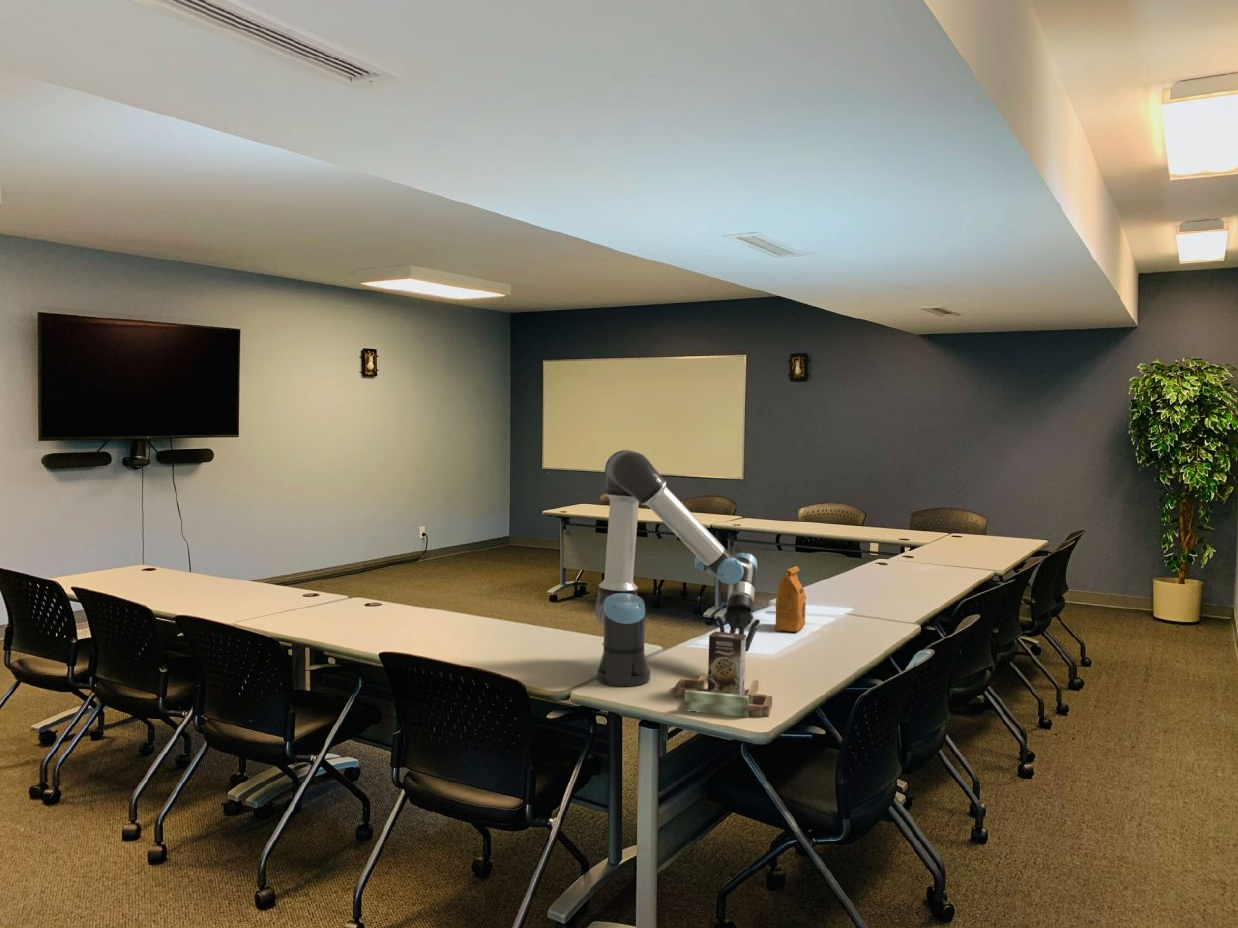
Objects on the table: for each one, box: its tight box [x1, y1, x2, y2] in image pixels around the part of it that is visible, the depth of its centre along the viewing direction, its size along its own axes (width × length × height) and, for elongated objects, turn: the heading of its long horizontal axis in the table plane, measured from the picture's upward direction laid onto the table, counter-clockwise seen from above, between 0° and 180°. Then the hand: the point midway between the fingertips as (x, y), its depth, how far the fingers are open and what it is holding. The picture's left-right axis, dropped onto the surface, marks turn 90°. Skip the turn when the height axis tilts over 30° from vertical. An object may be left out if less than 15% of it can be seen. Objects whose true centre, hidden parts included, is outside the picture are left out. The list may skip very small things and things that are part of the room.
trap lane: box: [673, 674, 773, 718], centre depth 230 cm, size 26×24×5 cm
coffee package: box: [775, 565, 807, 633], centre depth 308 cm, size 10×12×22 cm
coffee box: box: [707, 630, 747, 695], centre depth 235 cm, size 9×6×16 cm
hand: (732, 670), depth 244 cm, fingers closed
